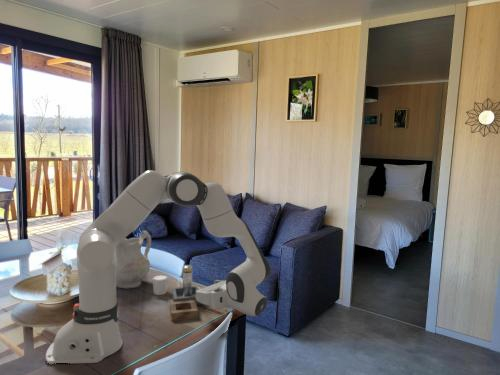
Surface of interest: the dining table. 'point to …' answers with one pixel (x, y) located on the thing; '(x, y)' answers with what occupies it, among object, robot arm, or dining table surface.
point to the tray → (178, 295)
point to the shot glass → (160, 284)
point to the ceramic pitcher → (132, 261)
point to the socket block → (183, 310)
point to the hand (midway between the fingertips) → (206, 285)
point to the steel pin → (187, 280)
